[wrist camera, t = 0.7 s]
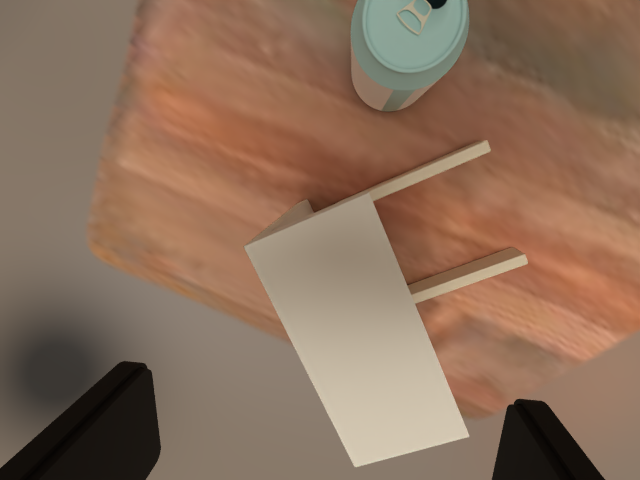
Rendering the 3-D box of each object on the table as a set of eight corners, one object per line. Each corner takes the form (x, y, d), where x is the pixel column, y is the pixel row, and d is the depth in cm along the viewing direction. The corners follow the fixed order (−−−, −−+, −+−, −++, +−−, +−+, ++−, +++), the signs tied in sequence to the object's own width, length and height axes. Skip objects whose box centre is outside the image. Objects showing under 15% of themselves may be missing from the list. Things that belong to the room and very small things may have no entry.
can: (354, 27, 29) (355, -60, 18) (434, 28, 29) (490, -60, 17) (348, 111, 31) (346, 82, 19) (424, 113, 30) (469, 86, 19)
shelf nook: (471, 126, 30) (612, 87, 14) (519, 269, 33) (685, 378, 17) (296, 203, 34) (243, 246, 17) (353, 327, 36) (355, 467, 20)
